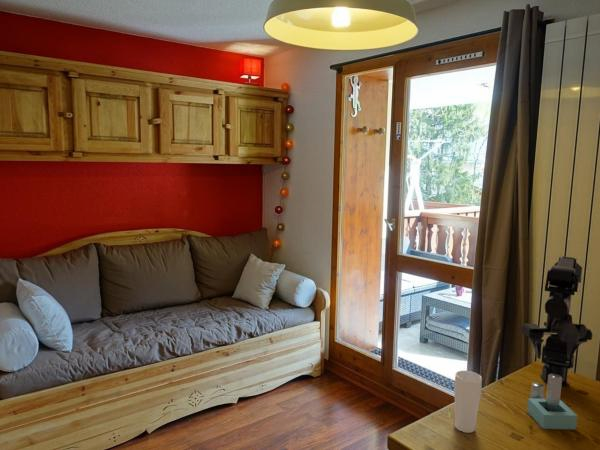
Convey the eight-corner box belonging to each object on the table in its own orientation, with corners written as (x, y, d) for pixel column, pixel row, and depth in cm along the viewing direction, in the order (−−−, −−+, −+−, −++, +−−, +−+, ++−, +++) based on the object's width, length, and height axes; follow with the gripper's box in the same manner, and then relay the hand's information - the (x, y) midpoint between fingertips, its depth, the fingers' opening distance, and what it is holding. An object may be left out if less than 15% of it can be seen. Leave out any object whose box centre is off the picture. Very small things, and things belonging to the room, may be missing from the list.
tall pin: (550, 415, 135) (554, 372, 133) (560, 422, 132) (565, 378, 130) (541, 417, 134) (545, 374, 132) (551, 424, 130) (555, 379, 129)
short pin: (539, 396, 146) (540, 382, 146) (544, 401, 143) (546, 387, 142) (528, 396, 146) (529, 382, 146) (533, 401, 143) (535, 387, 142)
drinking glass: (474, 422, 131) (478, 371, 129) (481, 436, 124) (485, 382, 122) (449, 420, 131) (452, 369, 129) (454, 434, 125) (458, 380, 122)
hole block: (557, 411, 137) (559, 398, 137) (575, 429, 128) (577, 415, 128) (527, 411, 137) (528, 398, 137) (542, 428, 128) (544, 414, 128)
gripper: (541, 317, 133) (536, 369, 135) (607, 318, 133) (601, 371, 135) (522, 305, 144) (518, 354, 146) (583, 306, 144) (578, 355, 146)
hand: (553, 358), depth 143 cm, fingers open, 9 cm apart
